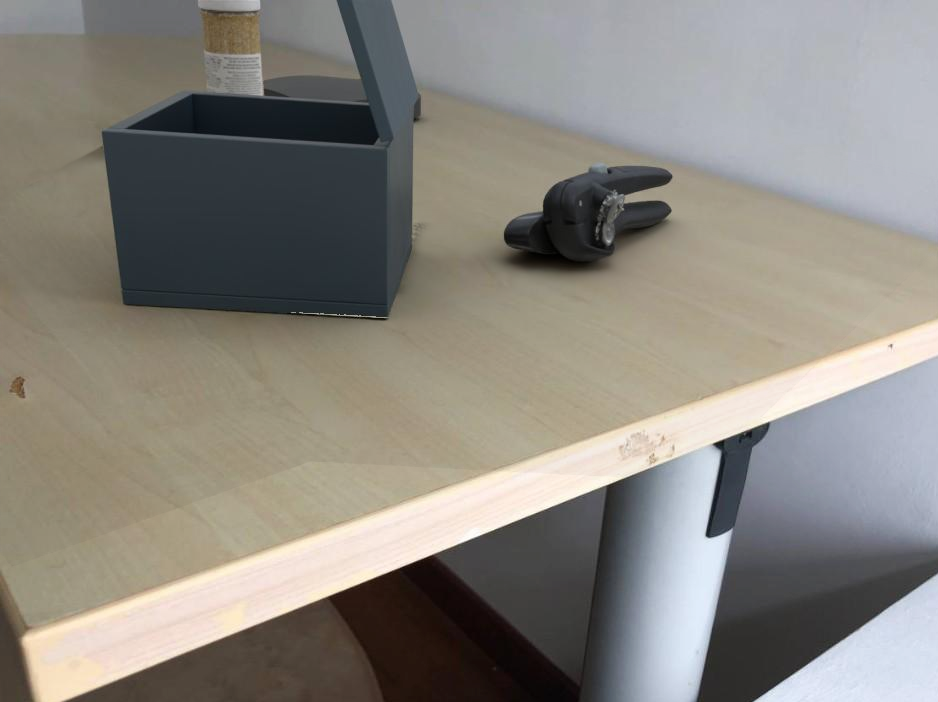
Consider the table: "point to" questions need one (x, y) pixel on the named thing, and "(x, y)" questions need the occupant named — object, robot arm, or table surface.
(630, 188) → the can opener
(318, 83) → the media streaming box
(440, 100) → the table surface
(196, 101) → the bin
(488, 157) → the table surface
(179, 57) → the table surface
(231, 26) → the sprinkles bottle
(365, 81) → the bin lid
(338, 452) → the table surface
